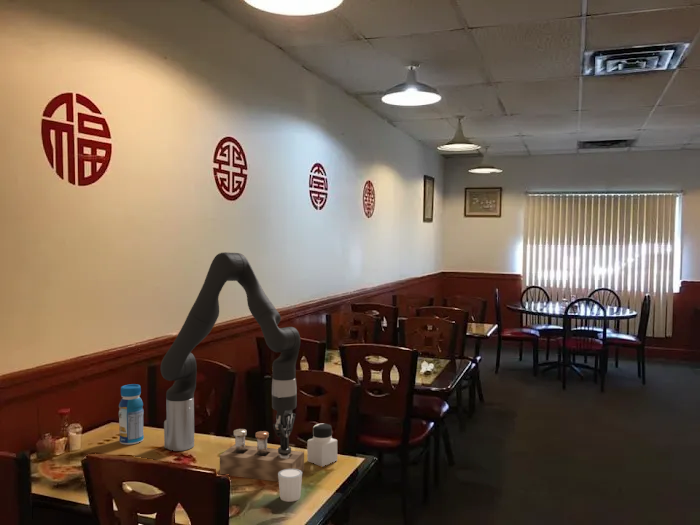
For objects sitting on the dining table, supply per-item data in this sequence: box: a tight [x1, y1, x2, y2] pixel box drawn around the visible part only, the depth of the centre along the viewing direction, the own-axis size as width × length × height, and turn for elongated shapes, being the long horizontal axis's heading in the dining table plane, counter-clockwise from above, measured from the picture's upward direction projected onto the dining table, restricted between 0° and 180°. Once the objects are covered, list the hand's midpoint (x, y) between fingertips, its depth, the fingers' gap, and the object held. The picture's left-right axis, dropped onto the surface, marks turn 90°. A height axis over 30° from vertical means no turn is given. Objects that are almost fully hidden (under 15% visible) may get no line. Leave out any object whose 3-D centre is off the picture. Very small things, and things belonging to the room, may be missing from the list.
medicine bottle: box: [306, 423, 338, 468], centre depth 194 cm, size 7×7×12 cm
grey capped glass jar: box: [277, 446, 292, 459], centre depth 183 cm, size 4×4×7 cm
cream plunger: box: [233, 428, 248, 454], centre depth 187 cm, size 4×4×7 cm
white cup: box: [278, 469, 303, 503], centre depth 167 cm, size 7×7×7 cm
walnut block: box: [219, 444, 305, 483], centre depth 185 cm, size 24×10×6 cm, turn 74°
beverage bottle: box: [118, 383, 145, 446], centre depth 213 cm, size 8×8×20 cm
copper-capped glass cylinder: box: [255, 430, 270, 456], centre depth 185 cm, size 4×4×7 cm
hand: (284, 448), depth 183 cm, fingers closed
